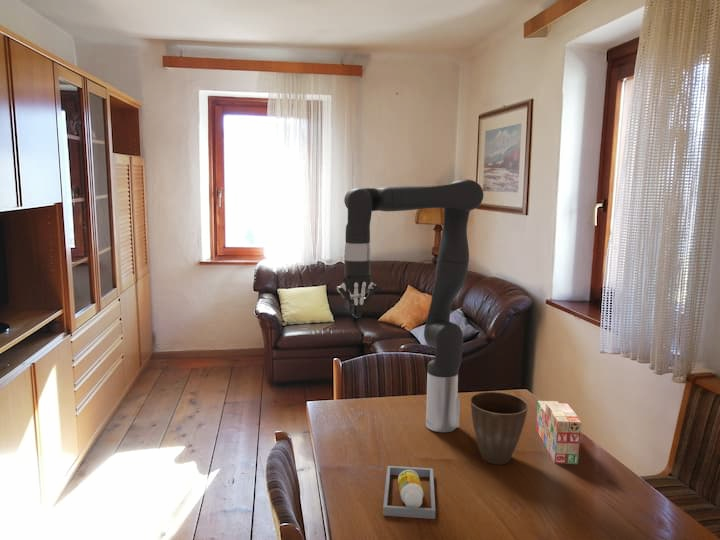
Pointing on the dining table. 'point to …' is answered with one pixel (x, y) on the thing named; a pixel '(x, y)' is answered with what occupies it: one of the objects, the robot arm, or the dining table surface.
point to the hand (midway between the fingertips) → (357, 316)
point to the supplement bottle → (410, 488)
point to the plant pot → (497, 424)
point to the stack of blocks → (559, 431)
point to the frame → (409, 511)
